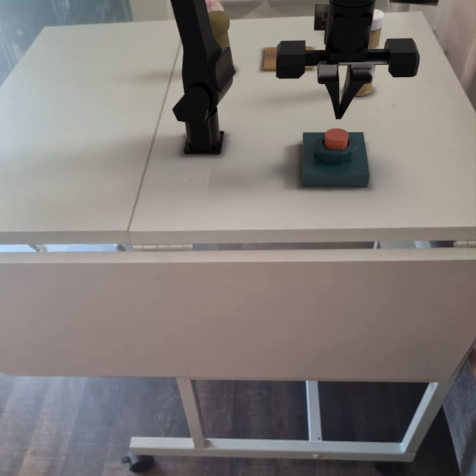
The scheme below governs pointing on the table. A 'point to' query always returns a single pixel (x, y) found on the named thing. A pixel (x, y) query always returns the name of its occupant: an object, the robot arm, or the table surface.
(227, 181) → the table surface
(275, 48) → the coaster
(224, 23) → the pepper shaker
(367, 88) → the sprinkles bottle
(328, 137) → the red button cap
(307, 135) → the teal push button base
